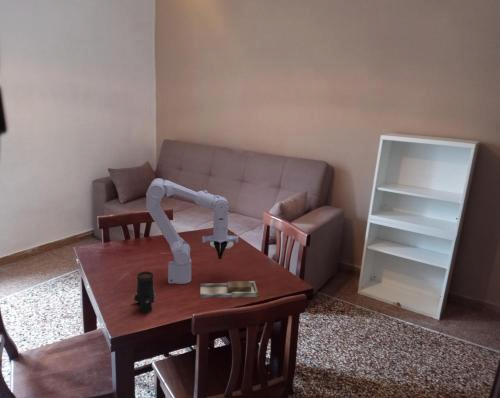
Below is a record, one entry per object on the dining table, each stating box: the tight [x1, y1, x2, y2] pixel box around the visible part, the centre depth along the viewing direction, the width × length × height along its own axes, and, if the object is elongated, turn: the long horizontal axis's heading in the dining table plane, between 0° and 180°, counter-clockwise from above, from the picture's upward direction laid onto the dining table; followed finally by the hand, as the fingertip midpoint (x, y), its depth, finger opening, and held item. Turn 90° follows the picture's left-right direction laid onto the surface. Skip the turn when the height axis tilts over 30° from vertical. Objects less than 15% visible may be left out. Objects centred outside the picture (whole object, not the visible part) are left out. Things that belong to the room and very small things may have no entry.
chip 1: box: [226, 281, 240, 293], centre depth 152 cm, size 4×4×3 cm
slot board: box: [199, 280, 259, 299], centre depth 152 cm, size 22×9×3 cm, turn 97°
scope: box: [132, 271, 156, 314], centre depth 138 cm, size 8×14×10 cm
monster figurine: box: [209, 230, 235, 250], centre depth 198 cm, size 12×12×10 cm
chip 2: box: [239, 280, 251, 292], centre depth 153 cm, size 4×4×3 cm
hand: (219, 258), depth 159 cm, fingers closed
